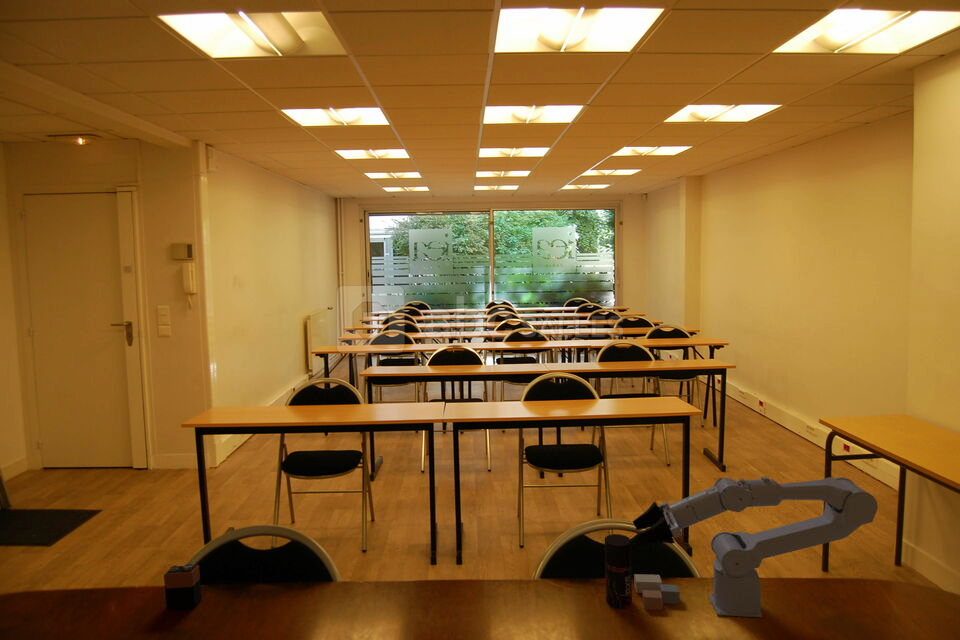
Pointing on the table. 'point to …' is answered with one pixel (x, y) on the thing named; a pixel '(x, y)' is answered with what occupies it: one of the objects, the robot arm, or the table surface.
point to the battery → (182, 587)
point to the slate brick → (670, 594)
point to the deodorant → (618, 571)
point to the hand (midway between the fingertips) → (636, 532)
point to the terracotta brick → (652, 599)
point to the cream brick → (647, 582)
